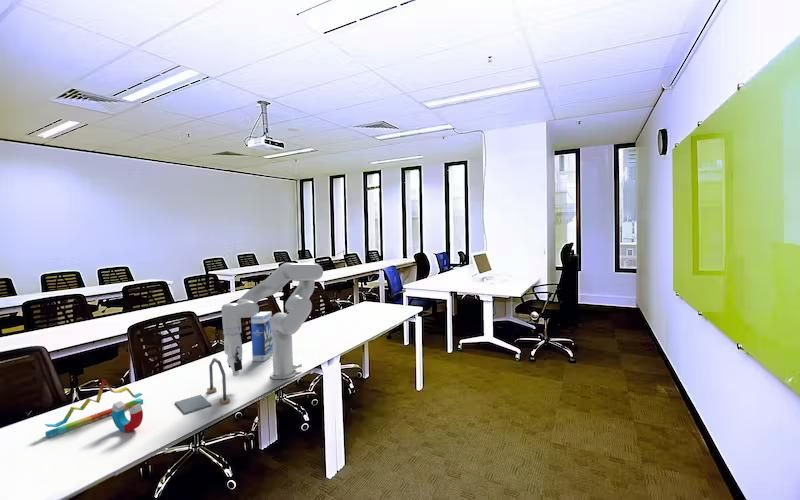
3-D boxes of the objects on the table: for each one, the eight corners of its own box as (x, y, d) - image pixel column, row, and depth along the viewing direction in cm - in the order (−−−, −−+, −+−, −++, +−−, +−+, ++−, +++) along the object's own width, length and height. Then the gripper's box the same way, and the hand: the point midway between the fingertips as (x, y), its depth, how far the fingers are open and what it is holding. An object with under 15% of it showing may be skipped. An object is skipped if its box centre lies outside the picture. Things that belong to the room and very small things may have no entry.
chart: (49, 439, 130) (46, 397, 130) (45, 436, 132) (43, 395, 131) (143, 404, 157) (141, 369, 156) (139, 402, 158) (138, 368, 158)
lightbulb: (228, 379, 166) (226, 356, 165) (228, 375, 171) (226, 352, 170) (244, 376, 168) (242, 353, 168) (242, 372, 174) (241, 349, 173)
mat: (200, 395, 163) (200, 394, 163) (211, 405, 153) (211, 404, 153) (174, 403, 156) (174, 402, 156) (184, 414, 146) (184, 412, 146)
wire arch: (214, 389, 169) (212, 354, 169) (229, 402, 156) (228, 363, 155) (207, 391, 167) (205, 355, 167) (222, 404, 154) (220, 365, 153)
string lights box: (265, 361, 206) (263, 316, 205) (251, 361, 207) (250, 316, 206) (273, 353, 220) (272, 311, 219) (261, 354, 220) (259, 311, 219)
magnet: (112, 430, 135) (110, 403, 135) (119, 426, 138) (118, 400, 137) (136, 434, 132) (135, 407, 131) (144, 430, 134) (142, 403, 134)
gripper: (216, 329, 172) (220, 366, 173) (231, 335, 160) (234, 375, 161) (233, 325, 177) (236, 361, 178) (248, 331, 165) (251, 370, 166)
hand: (235, 368), depth 170 cm, fingers closed on lightbulb, 6 cm apart
